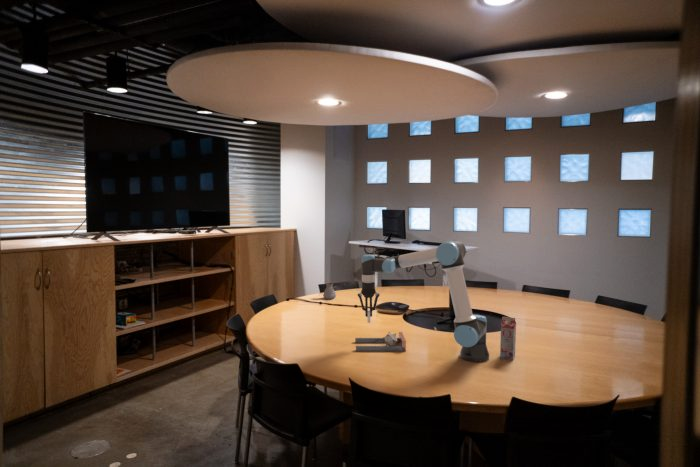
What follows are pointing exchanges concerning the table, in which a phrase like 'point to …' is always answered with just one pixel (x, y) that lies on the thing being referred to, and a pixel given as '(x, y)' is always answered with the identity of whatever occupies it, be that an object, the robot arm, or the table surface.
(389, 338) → the spiky grey ball
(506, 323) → the juice carton
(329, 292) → the coffee pot
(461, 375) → the table surface
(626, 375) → the table surface
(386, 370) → the table surface
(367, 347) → the guide channel
